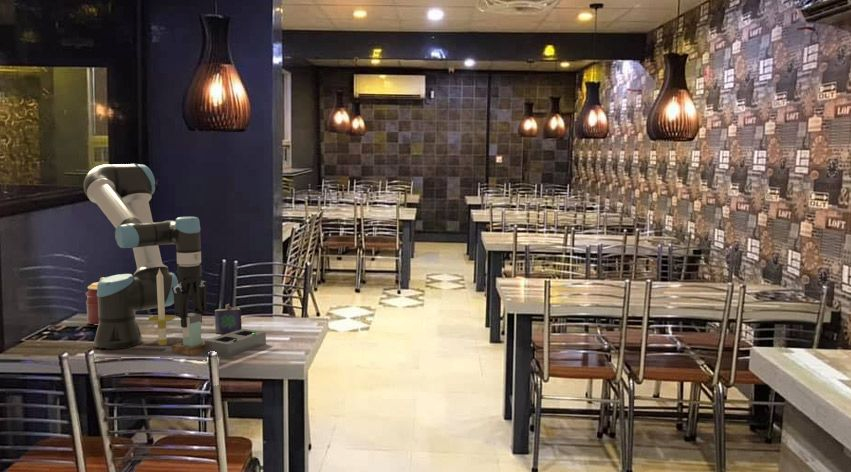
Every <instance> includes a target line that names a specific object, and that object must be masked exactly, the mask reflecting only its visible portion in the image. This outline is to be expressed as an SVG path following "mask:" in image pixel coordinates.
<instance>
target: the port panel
mask: <svg viewBox="0 0 851 472" xmlns="http://www.w3.org/2000/svg"><path fill="white" fill-rule="evenodd" d="M266 334H267V332H266V331H261V330H254V329H247V328H242V329H240V330H237V331H234V332H231V333H227V334H222V335H218V336H215V337H211V338H208V339H205V340H203V341H204V342H205V352H204V354H208V352H210V351H215V352H217V354H218V355H219V357H224V358H230V357H234V356H236V355H238V354H241V353H245V352H248V351H251V350H254V349H256V348H259V347H262V346H265V345H267V336H266ZM208 355H209V354H208ZM218 355H217V356H218Z"/></svg>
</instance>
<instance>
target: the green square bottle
mask: <svg viewBox="0 0 851 472" xmlns="http://www.w3.org/2000/svg"><path fill="white" fill-rule="evenodd" d="M187 317H190V337H189V338H188V337H183V336H182V342H183V345H185V346H191V347H193V346H196V345H199V344H201V341H202V323H201V320H200V314H197V313H195V312H188V316H187Z"/></svg>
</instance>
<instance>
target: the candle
mask: <svg viewBox="0 0 851 472" xmlns="http://www.w3.org/2000/svg"><path fill="white" fill-rule="evenodd" d="M156 277H157V299H158V308H157V315H153V316H151V317H148V321H149V322H153V323H157V331H158V332H157V333H158V334H157V335H158V336H157V337H158V345H159V346H165V345H167V323H166V322H169V321H172V320H174V319H175V318H176V316H175V315H171V314H166V312H165V311H166V309H165V307H166V306H165V307H164V284H163V275H162V273H161V271H160V268H159V272H158V274H157V275H156Z"/></svg>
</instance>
